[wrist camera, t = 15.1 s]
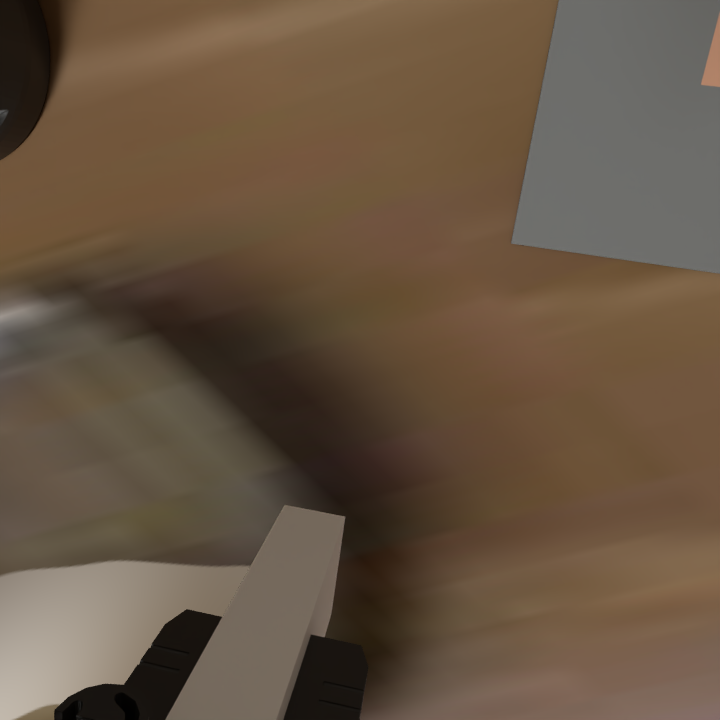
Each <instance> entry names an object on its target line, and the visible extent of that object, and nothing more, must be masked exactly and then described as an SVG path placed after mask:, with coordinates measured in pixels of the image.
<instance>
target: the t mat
mask: <svg viewBox="0 0 720 720" xmlns="http://www.w3.org/2000/svg"><path fill="white" fill-rule="evenodd" d="M511 243H512V244H519V245H526V246H533V247H540V248H547V249H554V250H561V251H568V252H574V253H581V254H588V255H595V256H602V257H609V258H616V259H623V260H630V261H637V262H644V263H650V264H657V265H664V266H671V267H678V268H685V269H692V270H699V271H706V272H713V273H719V274H720V0H559V2H558V7H557V12H556V17H555V22H554V27H553V33H552V38H551V43H550V48H549V53H548V58H547V63H546V68H545V73H544V78H543V83H542V89H541V94H540V99H539V104H538V109H537V114H536V119H535V124H534V129H533V134H532V139H531V145H530V150H529V155H528V160H527V165H526V170H525V175H524V180H523V185H522V190H521V195H520V200H519V206H518V211H517V216H516V221H515V226H514V231H513V236H512V241H511Z"/></svg>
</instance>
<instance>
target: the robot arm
mask: <svg viewBox="0 0 720 720" xmlns="http://www.w3.org/2000/svg"><path fill="white" fill-rule="evenodd" d="M49 73H50V51H49V41H48V35H47V30H46V25H45V21H44V18H43V14H42V11H41V8H40V6H39V3H38V1H37V0H0V160H1V159H3V158H4V157H6V156H7V155H9V154H10V153H11V152H12V151H14V150H15V149H16V148H17V147H18V146H19V145H20V144H21V143H22V142H23V141H24V139H25V138H26V137H27V136H28V134H29V133H30V131H31V130H32V128H33V126H34V125H35V123H36V121H37V119H38V117H39V115H40V112H41V110H42V107H43V104H44V101H45V97H46V93H47V88H48V82H49ZM344 521H345V517H344V516H338V515H333V514H328V513H323V512H318V511H313V510H308V509H303V508H298V507H292V506H287V505H284V507H283V509H282V510H281V512H280V514H279V516H278V518H277V519H276V521H275V523H274V525H273V527H272V528H271V530H270V532H269V534H268V536H267V537H266V539H265V541H264V543H263V545H262V546H261V548H260V550H259V552H258V554H257V555H256V557H255V559H254V561H253V563H252V565H251V566H250V568H249V570H248V572H247V574H246V575H245V577H244V579H243V581H242V583H241V585H240V586H239V588H238V590H237V592H236V593H235V595H234V597H233V599H232V601H231V602H230V604H229V606H228V608H227V610H226V611H225V613H224V615H223V617H220V616H215V615H211V614H206V613H202V612H196V611H192V610H185V611H184V612H182V613H181V614H179V615H178V616H176V617H175V618H174V619H172V620H171V621H169V622H168V623H166V624H165V625H164V627H163V628H162V630H161V631H160V633H159V634H158V636H157V637H156V639H155V640H154V641H153V643H152V645H151V648H149V649H148V650H147V652H146V653H145V655H144V656H143V658H142V659H141V661H140V664H139V665H137V667H136V668H135V669H134V671H133V672H132V674H131V675H130V677H129V678H128V680H127V681H126V682H125V684H124V685H117V684H102V685H97V686H93V687H88V688H85V689H83V690H81V691H79V692H77V693H76V694H73V695H71V696H70V697H68V698H67V699H66V700H65V701H64V702H63V703H61V704H60V705H59V706H58V707H57V708H56V709H55V711H54V720H360V714H361V708H362V702H363V696H364V690H365V684H366V678H367V672H368V665H367V661H366V658H365V655H364V652H363V649H362V646H361V645H357V644H353V643H348V642H343V641H339V640H334V639H330V638H325V633H326V630H327V626H328V623H329V620H330V616H331V612H332V605H333V598H334V591H335V584H336V577H337V570H338V563H339V556H340V549H341V542H342V535H343V528H344Z"/></svg>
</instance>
